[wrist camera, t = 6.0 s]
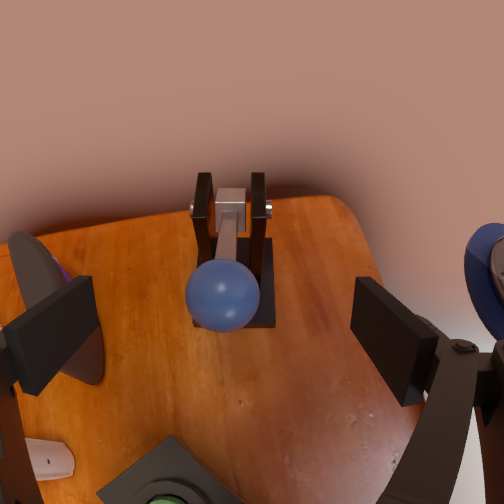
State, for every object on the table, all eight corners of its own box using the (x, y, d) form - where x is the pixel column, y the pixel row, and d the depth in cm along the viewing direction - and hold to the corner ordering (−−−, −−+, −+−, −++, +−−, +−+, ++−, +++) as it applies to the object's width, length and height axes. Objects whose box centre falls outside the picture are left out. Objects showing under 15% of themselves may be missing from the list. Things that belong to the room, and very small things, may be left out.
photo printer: (70, 438, 24) (-9, 426, 14) (81, 477, 22) (4, 484, 12) (2, 444, 22) (-76, 428, 12) (10, 479, 20) (-68, 475, 10)
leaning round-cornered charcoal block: (128, 367, 29) (88, 338, 21) (94, 390, 27) (44, 369, 19) (69, 257, 35) (34, 209, 28) (41, 277, 34) (1, 233, 26)
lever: (259, 348, 15) (262, 289, 13) (185, 346, 15) (175, 288, 13) (254, 222, 26) (255, 180, 24) (209, 222, 26) (207, 180, 24)
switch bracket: (274, 327, 32) (292, 254, 20) (194, 327, 32) (164, 253, 20) (271, 243, 37) (282, 148, 25) (200, 243, 37) (183, 149, 25)
